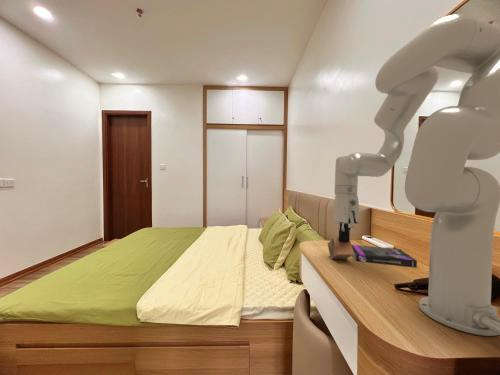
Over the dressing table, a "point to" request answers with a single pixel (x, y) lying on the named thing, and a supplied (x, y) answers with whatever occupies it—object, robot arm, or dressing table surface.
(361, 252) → the box
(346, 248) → the walnut block
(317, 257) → the dressing table surface
